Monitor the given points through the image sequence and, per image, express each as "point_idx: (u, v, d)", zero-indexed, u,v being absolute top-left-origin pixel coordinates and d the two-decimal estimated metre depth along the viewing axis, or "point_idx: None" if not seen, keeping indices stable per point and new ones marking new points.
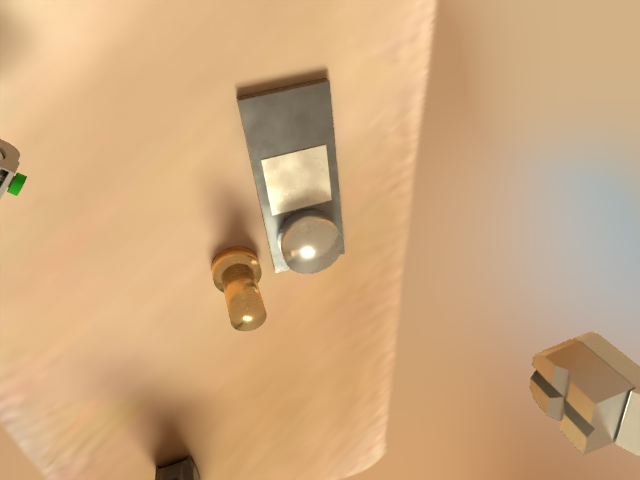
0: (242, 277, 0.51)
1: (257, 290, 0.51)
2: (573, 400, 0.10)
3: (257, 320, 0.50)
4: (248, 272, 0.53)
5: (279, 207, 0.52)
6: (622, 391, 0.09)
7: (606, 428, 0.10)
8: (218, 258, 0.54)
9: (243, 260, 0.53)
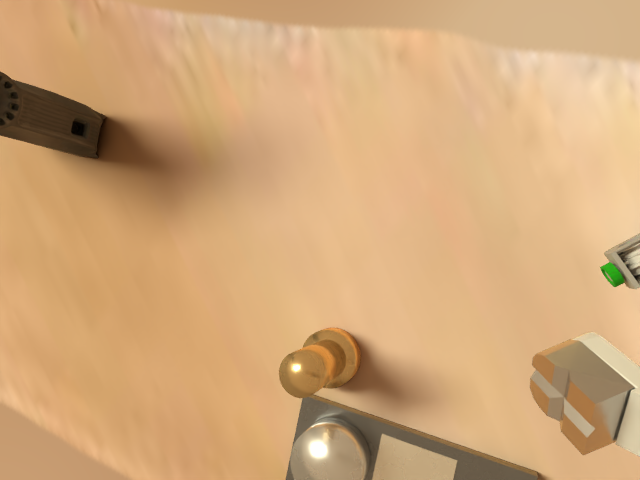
0: (335, 375, 0.42)
1: None
2: (573, 400, 0.10)
3: (290, 381, 0.39)
4: None
5: (388, 447, 0.44)
6: (622, 391, 0.09)
7: (606, 428, 0.10)
8: (356, 348, 0.46)
9: (345, 376, 0.45)
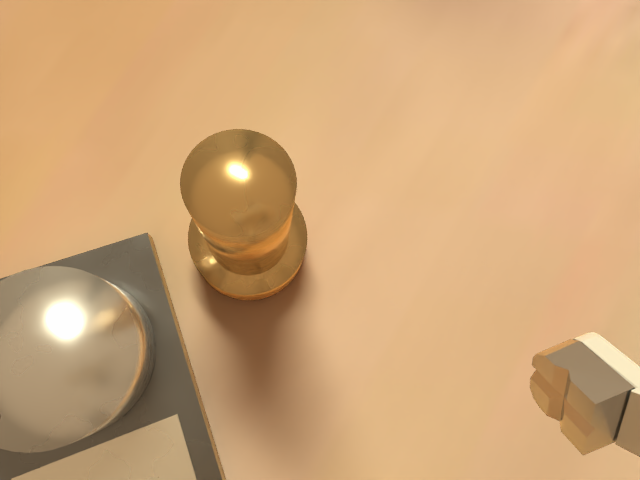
0: (248, 264, 0.19)
1: (209, 243, 0.18)
2: (573, 400, 0.10)
3: (208, 169, 0.15)
4: (228, 265, 0.20)
5: (160, 442, 0.20)
6: (622, 391, 0.09)
7: (606, 428, 0.10)
8: (294, 275, 0.23)
9: (240, 285, 0.22)
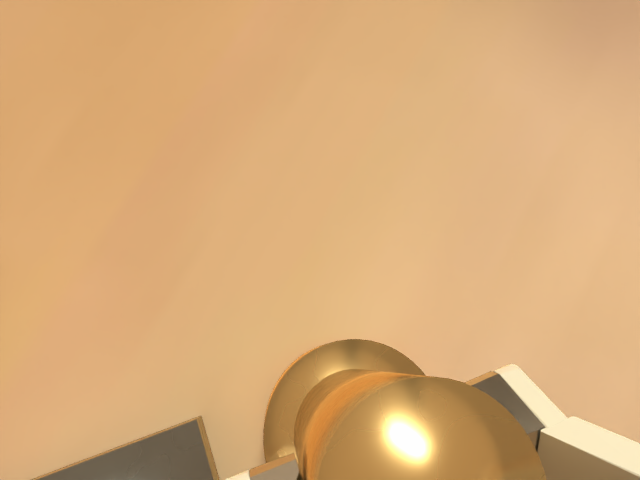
0: None
1: None
2: None
3: (372, 477, 0.07)
4: None
5: None
6: (532, 430, 0.09)
7: None
8: None
9: None
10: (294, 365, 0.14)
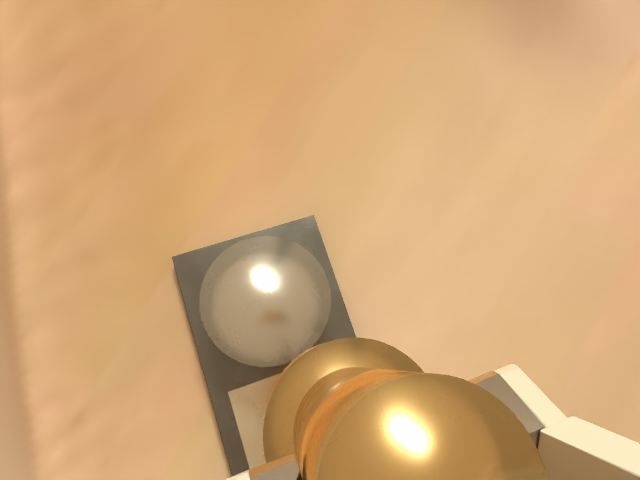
0: None
1: None
2: None
3: (372, 474, 0.07)
4: None
5: None
6: (532, 430, 0.09)
7: None
8: None
9: None
10: (294, 363, 0.14)
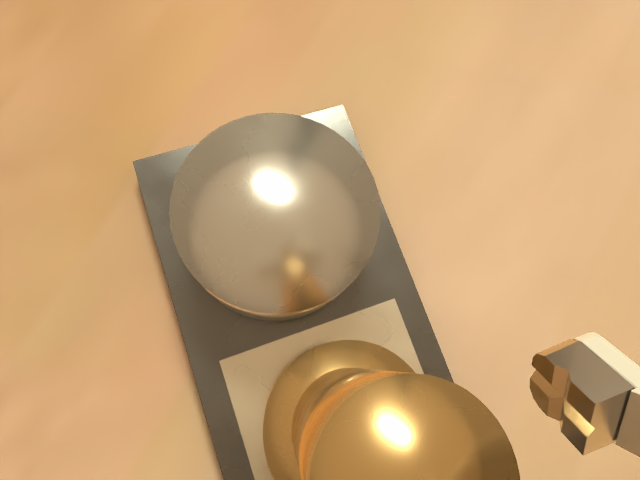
0: None
1: None
2: (574, 400, 0.10)
3: (359, 463, 0.08)
4: None
5: (379, 327, 0.18)
6: (622, 391, 0.09)
7: (606, 428, 0.10)
8: None
9: None
10: (292, 364, 0.15)
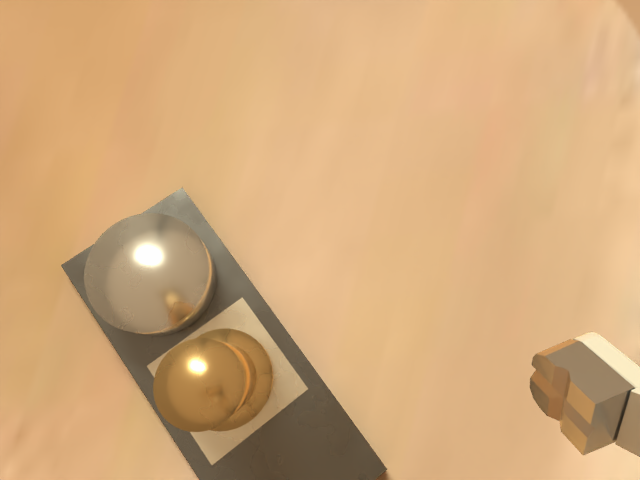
0: None
1: None
2: (573, 399, 0.10)
3: (173, 382, 0.20)
4: None
5: (237, 317, 0.29)
6: (622, 391, 0.09)
7: (606, 428, 0.10)
8: (270, 393, 0.28)
9: (228, 422, 0.26)
10: None
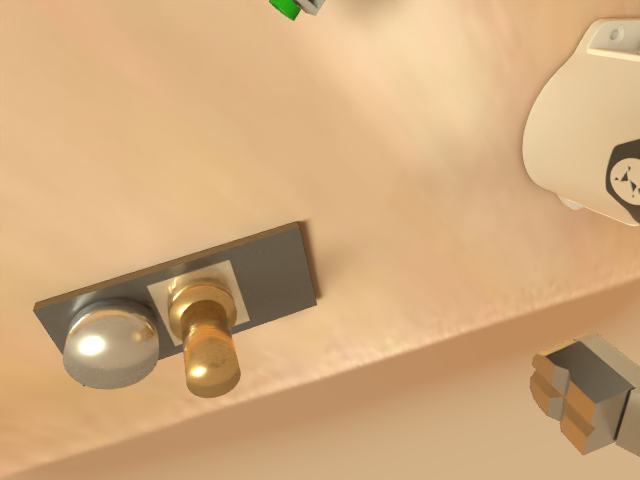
0: (231, 335, 0.38)
1: None
2: (573, 399, 0.10)
3: (207, 389, 0.34)
4: None
5: (161, 292, 0.39)
6: (622, 391, 0.09)
7: (606, 428, 0.10)
8: (223, 286, 0.40)
9: (231, 319, 0.40)
10: (178, 337, 0.39)
